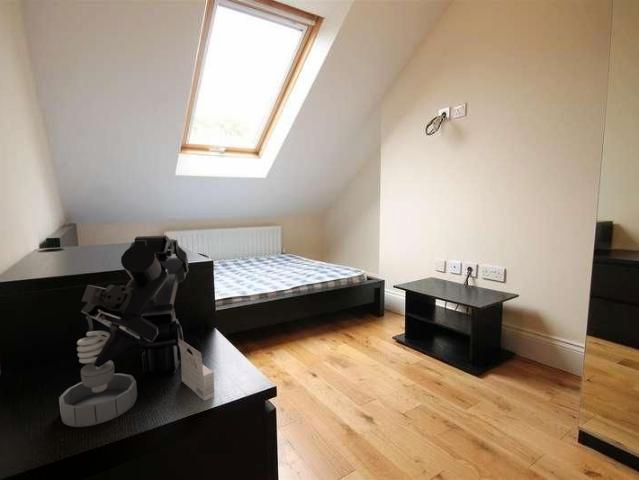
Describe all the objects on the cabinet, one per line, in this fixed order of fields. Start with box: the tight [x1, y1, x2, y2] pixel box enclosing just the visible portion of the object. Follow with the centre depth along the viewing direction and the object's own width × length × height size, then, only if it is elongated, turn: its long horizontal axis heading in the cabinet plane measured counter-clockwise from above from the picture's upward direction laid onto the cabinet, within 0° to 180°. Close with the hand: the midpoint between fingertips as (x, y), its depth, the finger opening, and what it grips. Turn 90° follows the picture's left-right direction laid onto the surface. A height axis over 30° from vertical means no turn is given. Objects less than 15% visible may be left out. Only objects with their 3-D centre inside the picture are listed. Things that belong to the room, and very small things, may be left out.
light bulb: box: [76, 331, 115, 393], centre depth 66 cm, size 6×6×12 cm
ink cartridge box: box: [178, 338, 215, 402], centre depth 72 cm, size 2×11×10 cm, turn 43°
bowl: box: [58, 372, 138, 428], centre depth 67 cm, size 12×12×4 cm
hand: (88, 362), depth 65 cm, fingers closed on light bulb, 5 cm apart
